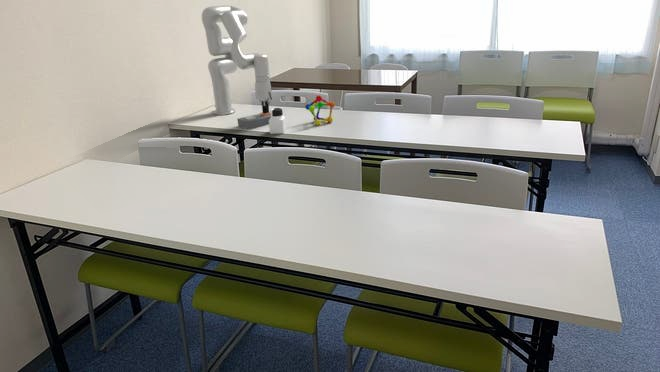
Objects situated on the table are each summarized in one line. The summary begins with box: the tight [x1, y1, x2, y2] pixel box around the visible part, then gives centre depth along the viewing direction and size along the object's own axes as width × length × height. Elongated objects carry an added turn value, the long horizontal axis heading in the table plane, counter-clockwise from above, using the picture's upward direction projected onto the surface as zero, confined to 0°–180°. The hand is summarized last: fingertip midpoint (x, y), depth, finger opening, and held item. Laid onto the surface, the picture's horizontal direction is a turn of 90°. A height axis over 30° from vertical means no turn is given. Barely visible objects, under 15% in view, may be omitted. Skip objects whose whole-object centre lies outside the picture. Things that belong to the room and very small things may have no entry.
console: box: [236, 113, 271, 130], centre depth 263 cm, size 10×20×4 cm, turn 130°
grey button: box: [244, 115, 256, 120], centre depth 260 cm, size 4×4×4 cm
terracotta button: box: [259, 111, 271, 116], centre depth 265 cm, size 4×4×4 cm
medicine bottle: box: [268, 107, 287, 135], centre depth 245 cm, size 7×7×12 cm
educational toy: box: [305, 94, 336, 126], centre depth 258 cm, size 16×13×15 cm
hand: (265, 112), depth 264 cm, fingers closed
